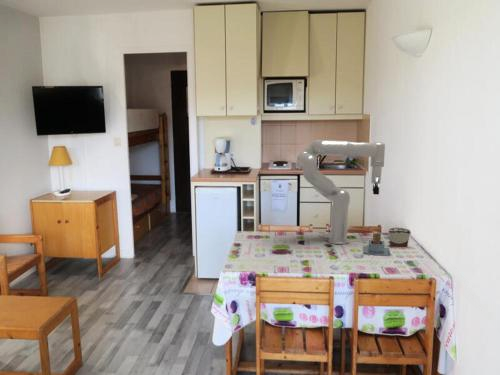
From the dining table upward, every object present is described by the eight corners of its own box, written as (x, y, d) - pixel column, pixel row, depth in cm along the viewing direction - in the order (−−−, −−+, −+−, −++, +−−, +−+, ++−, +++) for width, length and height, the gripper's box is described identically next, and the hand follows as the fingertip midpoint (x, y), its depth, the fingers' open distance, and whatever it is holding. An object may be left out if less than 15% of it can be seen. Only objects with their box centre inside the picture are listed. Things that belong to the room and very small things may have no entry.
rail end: (372, 251, 237) (373, 233, 235) (372, 248, 240) (373, 231, 239) (380, 251, 236) (380, 233, 234) (379, 249, 240) (380, 231, 238)
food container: (407, 244, 251) (408, 227, 249) (410, 247, 245) (411, 230, 243) (385, 243, 252) (386, 227, 250) (387, 247, 246) (388, 230, 244)
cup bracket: (362, 254, 234) (363, 244, 233) (362, 247, 246) (363, 238, 245) (390, 256, 231) (390, 246, 230) (389, 249, 242) (389, 240, 241)
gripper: (370, 161, 262) (368, 189, 265) (370, 165, 246) (369, 195, 249) (383, 162, 261) (381, 190, 264) (384, 165, 244) (383, 195, 247)
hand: (375, 192), depth 256 cm, fingers open, 9 cm apart
